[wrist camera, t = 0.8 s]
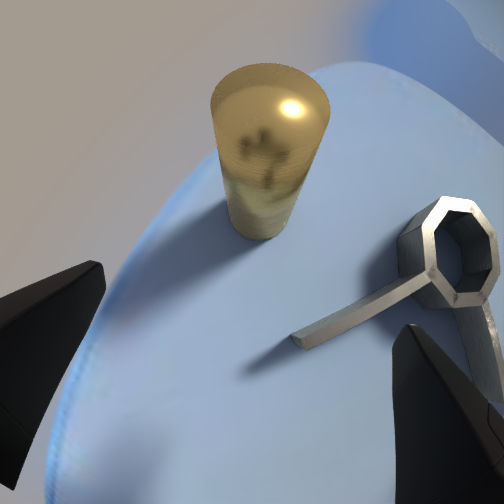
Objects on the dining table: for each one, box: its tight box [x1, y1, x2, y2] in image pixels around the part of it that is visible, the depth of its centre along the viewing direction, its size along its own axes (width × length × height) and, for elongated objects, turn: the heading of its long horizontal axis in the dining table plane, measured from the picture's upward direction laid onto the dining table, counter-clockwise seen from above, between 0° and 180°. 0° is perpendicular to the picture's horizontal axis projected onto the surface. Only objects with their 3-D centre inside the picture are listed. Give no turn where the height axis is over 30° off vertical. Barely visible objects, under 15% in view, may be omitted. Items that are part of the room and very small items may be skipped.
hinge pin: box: [211, 63, 330, 241], centre depth 16 cm, size 4×4×12 cm
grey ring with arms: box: [291, 196, 504, 403], centre depth 19 cm, size 17×18×4 cm
